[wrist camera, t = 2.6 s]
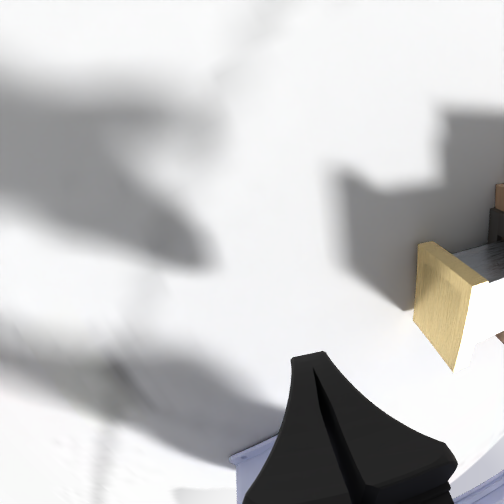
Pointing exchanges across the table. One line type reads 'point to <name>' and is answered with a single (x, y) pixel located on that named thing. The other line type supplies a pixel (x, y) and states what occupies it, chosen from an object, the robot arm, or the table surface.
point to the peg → (459, 298)
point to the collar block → (497, 227)
